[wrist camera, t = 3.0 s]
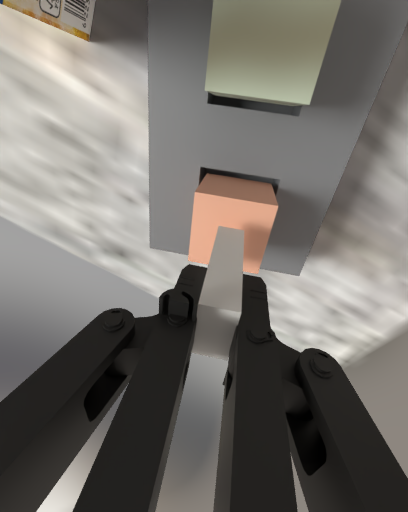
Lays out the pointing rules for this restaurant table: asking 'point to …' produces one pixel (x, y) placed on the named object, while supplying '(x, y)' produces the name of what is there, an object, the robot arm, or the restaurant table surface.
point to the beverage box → (59, 13)
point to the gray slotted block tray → (259, 124)
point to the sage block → (268, 48)
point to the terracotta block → (232, 216)
